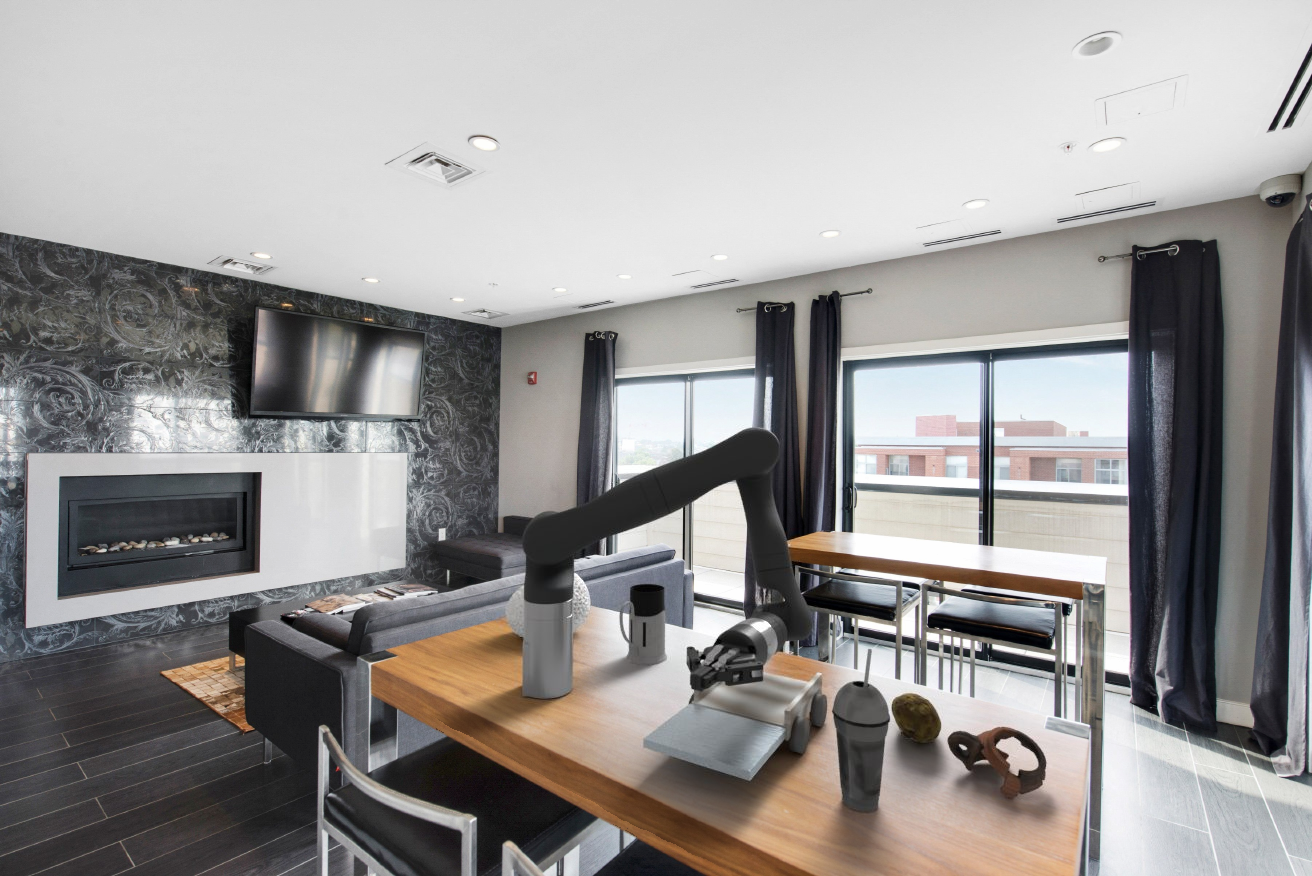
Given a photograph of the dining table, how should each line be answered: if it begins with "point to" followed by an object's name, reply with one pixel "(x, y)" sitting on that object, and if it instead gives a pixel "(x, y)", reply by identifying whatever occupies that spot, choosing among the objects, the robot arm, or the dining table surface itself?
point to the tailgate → (717, 740)
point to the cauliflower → (579, 607)
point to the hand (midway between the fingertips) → (696, 683)
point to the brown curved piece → (999, 757)
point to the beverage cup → (860, 741)
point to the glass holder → (645, 624)
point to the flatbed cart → (772, 704)
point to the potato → (916, 717)
